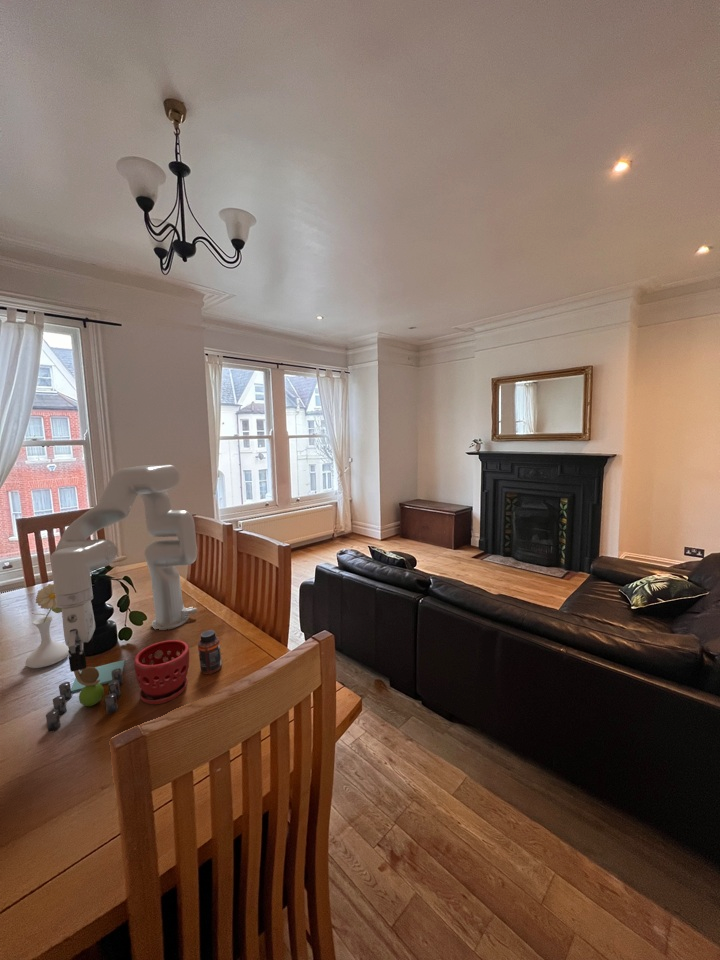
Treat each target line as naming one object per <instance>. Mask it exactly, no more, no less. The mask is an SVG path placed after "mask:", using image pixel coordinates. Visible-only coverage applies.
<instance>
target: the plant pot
mask: <svg viewBox="0 0 720 960" xmlns="http://www.w3.org/2000/svg"><path fill="white" fill-rule="evenodd" d="M159 651H160V652H162V655H161V656H159V657H156V656H155V655H156V653H157V652H159ZM168 652H170V653H168ZM177 652H178V653H179V654H178V653H177ZM165 658H167V659H166V661H165V660H164V659H165ZM172 658H173V659H172ZM143 660H144V661H143ZM151 662H152V664H151ZM189 666H190V648H189V645H188V644H187V643H186V642H185V641H182V640H179V639H178V640H176V639H172V640H171V639H170V640H168V639H167V640H163V641H158V642H156V643H152V644H150V645H149V646H148V645H147V647H145V648H143V649H141V650H140V651H139V652H138V653H137V654H136V655H135V657H134V671H135V673H134V674H135V677H136V678H135V679H136V681H137V684H138V686H139V687H140V691H139V698H140V699H141V701H143V702H144V703H146V704H149V705H160V704H164V703H165V704H166V703H168V702H170V701H171V700H172V701H173V700H174V699H176V698H177V697H178V696H180V695H181V694H182V693H183V692H184V691H185V690H186V688H187V686H188V678H187V675H188V672H189Z"/></svg>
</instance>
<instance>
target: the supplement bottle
mask: <svg viewBox="0 0 720 960" xmlns="http://www.w3.org/2000/svg"><path fill="white" fill-rule="evenodd" d="M220 644H221V643H220V638H219V637H218V636H216V632H215V630H213V629H209V630H208V629H207V630H205V631H203V632H202V633H200V640H199V641H198V644H197V648H198V649H197V650H198V657H199V667H200V671H201V673H202V674H203V675H206V674H207V675H210V674H214V673H216V672H218V671H220V670H221V668H222V665H223V664H222V653H221V645H220Z"/></svg>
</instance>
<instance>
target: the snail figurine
mask: <svg viewBox="0 0 720 960" xmlns="http://www.w3.org/2000/svg"><path fill="white" fill-rule="evenodd" d="M79 671H80V670H77V671H73V673H74V676H75V678H76V679H77V681H78V682H79V683H80V684H82V685H85V687H84V688H83V689H82V690H81V691H79V696H78V701H79V703H80V704H81V705H83V706H85V707H91V706H95V705H96V704H99V702H101V700H102V699H103V697H104V693H105V688H104V686H103V685H101V684H99V681H100V680H97V679H98V677H99V672H98V670H97V669H96V668H94V666H86V668H85V669H81V671H82V672H81V674H80V672H79Z"/></svg>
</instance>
